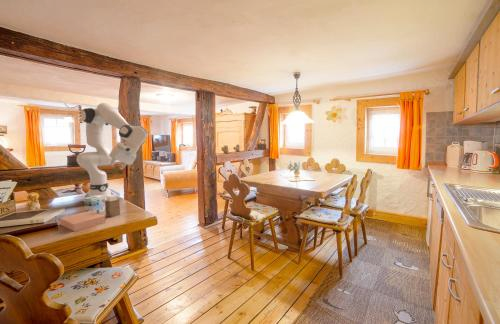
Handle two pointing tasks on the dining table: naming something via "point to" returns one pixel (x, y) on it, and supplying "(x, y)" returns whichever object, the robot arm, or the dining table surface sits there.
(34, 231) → the dining table surface
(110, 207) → the walnut crate
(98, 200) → the light bulb box
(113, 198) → the cargo block
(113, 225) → the dining table surface
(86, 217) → the dock
